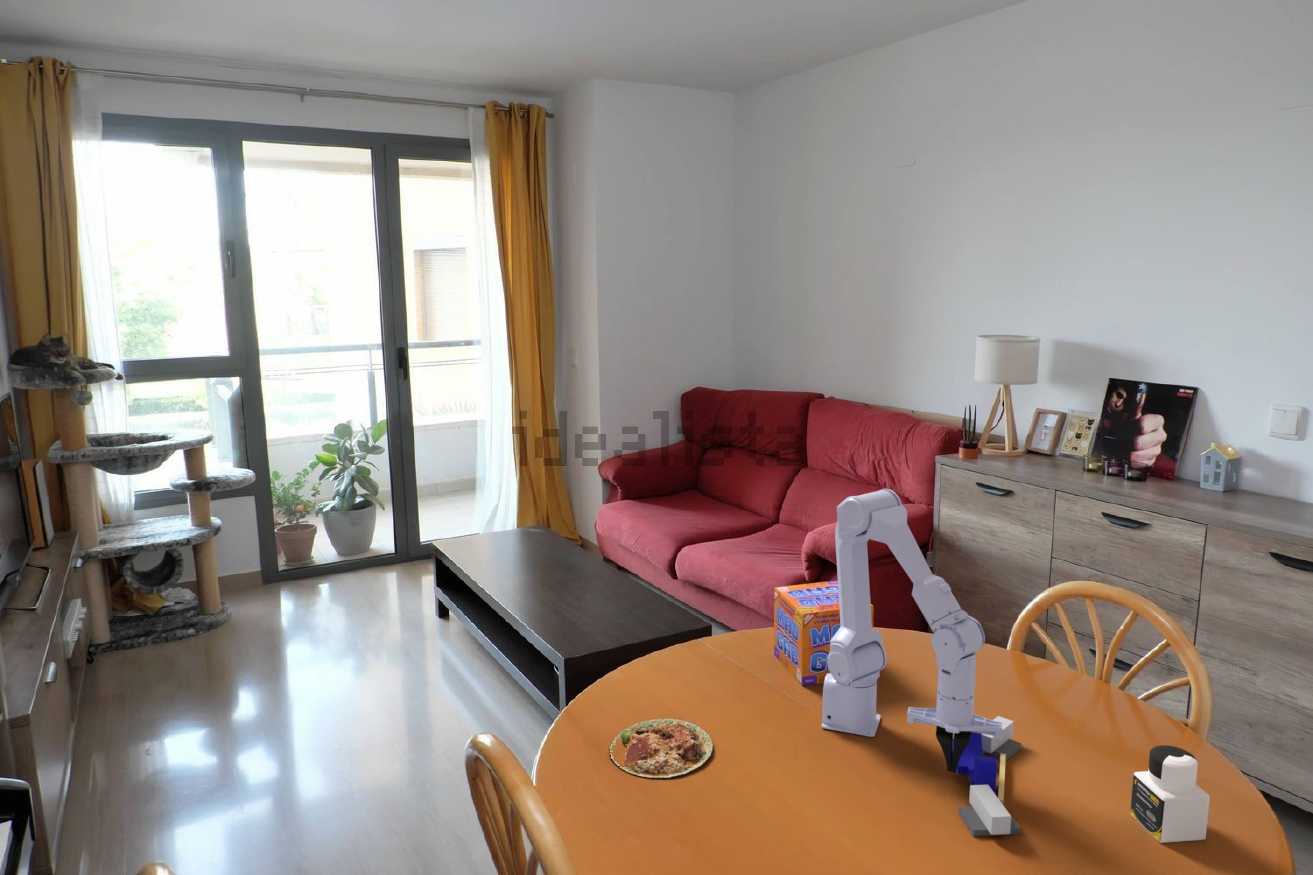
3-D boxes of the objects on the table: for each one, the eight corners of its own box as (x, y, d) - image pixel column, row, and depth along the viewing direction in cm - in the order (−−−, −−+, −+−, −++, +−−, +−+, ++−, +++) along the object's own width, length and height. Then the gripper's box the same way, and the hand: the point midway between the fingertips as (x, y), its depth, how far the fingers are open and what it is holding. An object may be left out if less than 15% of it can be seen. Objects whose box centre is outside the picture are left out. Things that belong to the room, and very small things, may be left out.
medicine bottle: (1128, 814, 132) (1135, 741, 130) (1173, 810, 132) (1180, 738, 130) (1159, 844, 125) (1166, 767, 123) (1206, 840, 125) (1214, 764, 123)
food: (687, 791, 140) (686, 775, 140) (593, 769, 148) (592, 753, 147) (727, 736, 156) (727, 721, 156) (640, 718, 164) (640, 703, 163)
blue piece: (950, 754, 149) (952, 722, 148) (977, 756, 149) (979, 723, 148) (965, 795, 138) (967, 760, 136) (995, 797, 137) (997, 762, 136)
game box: (839, 646, 193) (840, 579, 190) (872, 677, 178) (874, 604, 175) (773, 654, 189) (773, 586, 187) (801, 686, 175) (802, 613, 172)
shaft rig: (955, 833, 128) (957, 809, 127) (968, 730, 156) (969, 711, 156) (1020, 847, 125) (1021, 823, 124) (1021, 739, 153) (1022, 719, 152)
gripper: (905, 695, 139) (903, 772, 142) (1003, 711, 134) (998, 791, 136) (911, 676, 146) (908, 751, 148) (1004, 690, 140) (1000, 768, 143)
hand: (952, 769), depth 143 cm, fingers closed
